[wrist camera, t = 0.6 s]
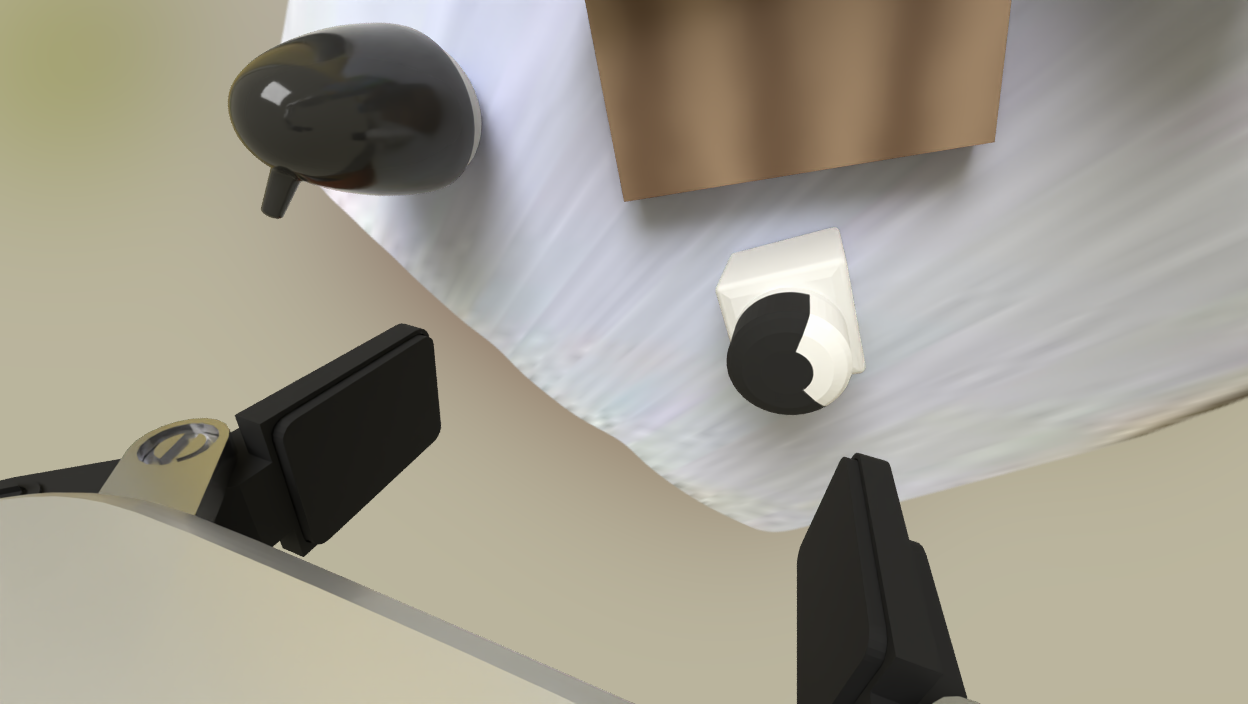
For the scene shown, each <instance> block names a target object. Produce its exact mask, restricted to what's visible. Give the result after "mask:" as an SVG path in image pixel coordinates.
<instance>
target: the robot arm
mask: <svg viewBox="0 0 1248 704" xmlns="http://www.w3.org/2000/svg"><path fill="white" fill-rule="evenodd" d="M235 417H236V420H237V423H238V426H239V428H238V429H236V430H235V431H233V432H230V429H229V428H228V426H227V425H226V424H225V423H223V422H221V421H219V420H216V419H208V418H200V419H199V418H198V419H188V420H183V421H178V422H174V423H171V424H168V425H165V426H162V427H159V428H157V429H155V430H153V431H151V432H149V433H147V434H145V435H144V436H142V437H141V438H139V439H138V440H136V441H135V442H134V443H133V444H132V445H131V446H130V447H129V448H128V449H127V451H126V452H125V454H124V455H123V457H122V458H121V459H118V460H112V461H106V462H100V463H95V464H89V465H83V466H77V467H71V468H65V469H60V470H54V471H48V472H43V473H36V474H31V475H25V476H19V477H14V478H9V479H5V480H1V481H0V704H634V703H632V702H630V701H628V700H625V699H623V698H621V697H618V696H616V695H614V694H611V693H609V692H607V691H605V690H602V689H600V688H598V687H596V686H593V685H591V684H589V683H586V682H584V681H582V680H579V679H577V678H575V677H573V676H570V675H568V674H566V673H564V672H561V671H559V670H557V669H554V668H552V667H550V666H548V665H545V664H543V663H541V662H538V661H536V660H534V659H532V658H529V657H527V656H525V655H523V654H520V653H518V652H516V651H513V650H511V649H509V648H506V647H504V646H502V645H499V644H497V643H495V642H492V641H490V640H488V639H486V638H483V637H481V636H479V635H476V634H474V633H472V632H469V631H467V630H465V629H463V628H460V627H458V626H456V625H453V624H451V623H448V622H446V621H444V620H442V619H439V618H437V617H435V616H432V615H430V614H428V613H426V612H423V611H421V610H419V609H416V608H414V607H411V606H409V605H407V604H405V603H402V602H400V601H398V600H395V599H393V598H390V597H388V596H386V595H383V594H381V593H379V592H377V591H374V590H372V589H370V588H367V587H365V586H362V585H360V584H358V583H356V582H353V581H351V580H349V579H346V578H344V577H342V576H339V575H337V574H335V573H332V572H330V571H327V570H325V569H323V568H320V567H318V566H316V565H313V564H311V563H309V562H306V561H304V560H302V559H299V558H297V557H294V556H292V555H290V554H287V553H285V552H283V551H280V550H278V549H275V548H273V546H274V545H275V544H276V543H278V542H279V541H280V542H281V545H282V547H283V548H284V549H286V550H288V551H291V552H293V553H295V554H298V555H300V556H302V557H304V556H305V555H307V554H308V552H310V551H311V550H312V549H313V548H314V547H315V546H316V545H317V544H323V543H325V542H326V541H328V540H329V539H330V538H331V537H332V536H333V535H334V534H335V533H336V532H338V531H339V530H340V529H341V528H342V527H343V526H344V525H345V524H346V523H347V522H348V521H349V520H350V519H352V518H353V516H355V515H356V514H357V513H358V512H359V511H360V510H361V509H362V508H363V507H364V506H365V505H366V504H368V503H369V502H370V501H371V500H372V499H373V498H374V497H375V496H376V495H377V494H378V493H379V492H380V491H381V490H383V489H384V488H385V487H386V486H387V485H388V484H389V483H390V482H391V481H392V480H393V479H394V478H395V477H396V476H397V475H398V474H399V473H401V472H402V471H403V470H404V469H405V468H406V467H407V466H408V465H409V464H410V463H411V462H412V461H414V460H415V459H416V458H417V457H418V456H419V455H420V454H421V453H422V452H423V451H424V450H425V449H426V448H427V447H429V446H430V445H431V444H432V443H433V442H434V441H435V440H436V438H437V437H438V435H439V433H440V429H441V421H440V410H439V399H438V388H437V377H436V366H435V355H434V344H433V340H432V339H431V338H430V337H429V335H428V333H427V331H425V330H424V329H421V328H417V327H414V326H410V325H407V324H398V325H396V326H394V327H392V328H390V329H389V330H387V331H385V332H383V333H382V334H380V335H378V336H376V337H374V338H373V339H371V340H369V341H367V342H365V343H364V344H362V345H360V346H358V347H356V348H355V349H353V350H351V351H349V352H347V353H346V354H344V355H342V356H340V357H338V358H337V359H335V360H333V361H331V362H329V363H328V364H326V365H325V366H322V367H321V368H319V369H317V370H315V371H313V372H311V373H310V374H308V375H306V376H304V377H302V378H301V379H299V380H297V381H295V382H293V383H292V384H290V385H288V386H286V387H285V388H283V389H281V390H279V391H277V392H276V393H274V394H272V395H270V396H268V397H267V398H265V399H263V400H261V401H259V402H258V403H256V404H254V405H252V406H250V407H249V408H247V409H245V410H243V411H241V412H240V413H238V414H236V415H235ZM797 704H980V703H978V702H976V701H972V700H969V699H967V695H966V692H965V688H964V685H963V682H962V678H961V674H960V671H959V668H958V664H957V661H956V657H955V654H954V650H953V646H952V643H951V640H950V636H949V632H948V629H947V626H946V622H945V618H944V615H943V612H942V608H941V604H940V601H939V597H938V594H937V591H936V587H935V583H934V580H933V577H932V573H931V570H930V566H929V563H928V559H927V555H926V553H925V551H924V548H923V547H922V546H921V545H920V544H919V543H917V542H914V541H911V540H909V537H908V534H907V529H906V526H905V522H904V518H903V514H902V510H901V506H900V502H899V498H898V494H897V490H896V487H895V483H894V479H893V475H892V471H891V467H890V464H889V463H888V462H887V461H884V460H881V459H877V458H874V457H870V456H867V455H863V454H860V453H855V454H854V455H853V457H852V458H851V459H850V458H847V457H843V458H842V459H841V460H840V462H839V464H838V466H837V469H836V471H835V473H834V475H833V477H832V479H831V482H830V484H829V486H828V488H827V490H826V492H825V494H824V497H823V499H822V501H821V503H820V505H819V507H818V510H817V512H816V514H815V516H814V518H813V520H812V522H811V525H810V527H809V529H808V531H807V533H806V535H805V538H804V540H803V542H802V544H801V546H800V550H799V554H798V559H797Z"/></svg>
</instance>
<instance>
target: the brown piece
mask: <svg viewBox="0 0 1248 704" xmlns="http://www.w3.org/2000/svg"><path fill="white" fill-rule="evenodd" d="M585 3H586V8H587V13H588V19H589V24H590V29H591V34H592V39H593V44H594V49H595V54H596V60H597V65H598V70H599V75H600V80H601V85H602V90H603V95H604V101H605V106H606V111H607V116H608V121H609V126H610V131H611V136H612V142H613V147H614V152H615V157H616V162H617V167H618V172H619V177H620V183H621V188H622V193H623V198H624V202H627V201H633V200H639V199H645V198H651V197H658V196H664V195H670V194H676V193H682V192H689V191H695V190H701V189H707V188H713V187H719V186H726V185H732V184H738V183H744V182H750V181H757V180H763V179H769V178H775V177H781V176H788V175H794V174H800V173H806V172H812V171H818V170H825V169H831V168H837V167H843V166H849V165H856V164H862V163H868V162H874V161H880V160H887V159H893V158H899V157H905V156H911V155H918V154H924V153H930V152H936V151H942V150H948V149H955V148H961V147H967V146H973V145H979V144H986V143H992V142H995V134H996V125H997V117H998V109H999V100H1000V92H1001V83H1002V75H1003V67H1004V58H1005V50H1006V41H1007V33H1008V25H1009V16H1010V8H1011V0H585Z"/></svg>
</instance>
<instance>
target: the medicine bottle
mask: <svg viewBox="0 0 1248 704" xmlns="http://www.w3.org/2000/svg"><path fill="white" fill-rule="evenodd" d="M716 294H717V298H718V301H719V305H720V308H721V311H722V315H723V318H724V322H725V325H726V328H727V332H728V335H729V339H730V346H729V349H728V353H727V369H728V374H729V377H730V379H731V381H732V383H733V385H734V387H735V388H736V389H737V391H738V392H739V393H740V394H741V395H742V396H743V397H744V398H745V399H746V400H748V401H749V402H750V403H752V404H753V405H755V406H757V407H759V408H761V409H763V410H766V411H769V412H773V413H777V414H785V415H798V414H805V413H810V412H813V411H816V410H819V409H821V408H823V407H825V406H827V405H829V404H830V403H832V402H833V401H834V400H835V399H836V398H838V397H839V396H840V394H841V393H842V392H843V391H844V390H845V388H846V386H847V385H848V383H849V380H850V377H851V374H858V373H862V372H863V371H864V370H865V367H866V365H865V360H864V354H863V349H862V343H861V338H860V332H859V327H858V321H857V316H856V311H855V305H854V300H853V294H852V289H851V283H850V278H849V272H848V267H847V262H846V257H845V253H844V248H843V244H842V240H841V235H840V231H839V229H838V228H836V227H832V228H828V229H824V230H820V231H817V232H813V233H809V234H805V235H801V236H797V237H794V238H790V239H786V240H782V241H778V242H774V243H771V244H767V245H763V246H759V247H755V248H751V249H748V250H744V251H740V252H736V253H733V254H731V256H730V258H729V260H728V263H727V265H726V267H725V269H724V271H723V274H722V276H721V278H720V280H719V282H718V285H717V287H716Z"/></svg>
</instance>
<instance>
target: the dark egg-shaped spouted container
mask: <svg viewBox="0 0 1248 704" xmlns="http://www.w3.org/2000/svg"><path fill="white" fill-rule="evenodd" d="M228 111H229V116H230V120H231V123H232V125H233V128H234V130H235V132H236V134H237V136H238V138H239V139H240V140H241V142H242V143H243V144H244V146H245V147H246V148H247V149H248V150H249V151H250V152H251V153H252V154H253V155H254V156H255V157H256V158H258V159H259V160H260V161H262V162H263V163H264V164H266V165H267V166H269V167H271V169H270V173H269V178H268V182H267V186H266V190H265V194H264V198H263V202H262V207H261V211H262V212H263V213H264V214H265V215H267V216H269V217H271V218H276V219H279V218H282V217H283V216H284V214H285V212H286V210H287V208H288V206H289V204H290V202H291V200H292V198H293V196H294V194H295V192H296V190H297V188H298V186H299V183H300V182H307V183H310V184H313V185H317V186H321V187H324V188H328V189H332V190H337V191H342V192H348V193H355V194H363V195H375V196H399V195H414V194H423V193H429V192H433V191H437V190H440V189H443V188H445V187H447V186H449V185H451V184H452V183H453V182H455V181H456V180H457V179H458V178H459V177H460V176H461V174H462V173H463V172H464V170H465V168H466V167H467V166H468V165H469V163H470V162H471V160H472V159H473V157H474V155H475V153H476V151H477V148H478V145H479V141H480V136H481V112H480V107H479V102H478V99H477V96H476V93H475V91H474V88H473V86H472V84H471V82H470V80H469V79H468V77H467V75H466V74H465V72H464V71H463V69H462V68H461V67H460V66H459V64H458V63H457V62H456V61H455V60H454V59H453V58H452V57H451V56H450V55H449V54H448V53H447V52H446V51H444V50H443V49H442V48H441V47H440V46H439V45H438V44H437V43H435V42H434V41H433V40H432V39H431V38H429V37H428V36H426V35H425V34H423V33H421V32H419V31H418V30H415V29H413V28H410V27H407V26H403V25H398V24H392V23H359V24H348V25H340V26H334V27H329V28H325V29H321V30H317V31H314V32H310V33H307V34H304V35H301V36H299V37H296V38H294V39H291V40H289V41H286V42H284V43H282V44H280V45H277V46H275V47H273V48H271V49H270V50H268V51H266V52H264V53H263V54H261V55H259V56H258V57H256V58H255V59H254V60H253V61H251V62H250V63H249V64H248V65H247V66H246V67H245V68H244V69H243V70H242V71H241V72H240V73H239V74H238V76H237V77H236V78H235V80H234V82H233V84H232V86H231V88H230V91H229V96H228Z"/></svg>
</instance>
